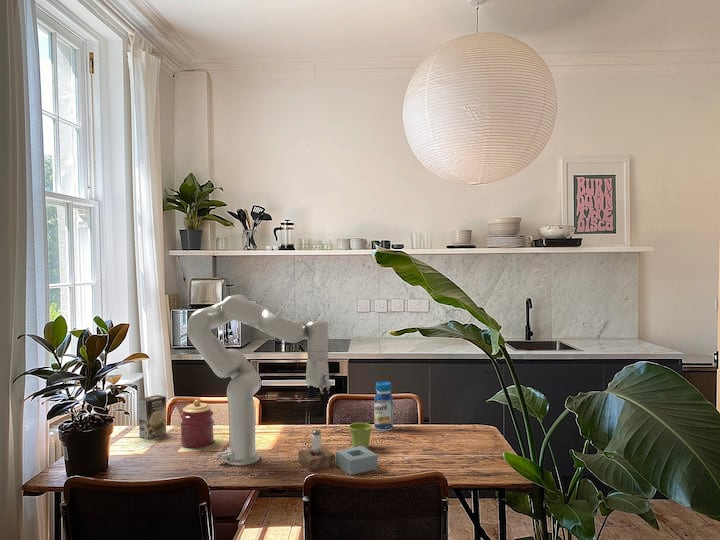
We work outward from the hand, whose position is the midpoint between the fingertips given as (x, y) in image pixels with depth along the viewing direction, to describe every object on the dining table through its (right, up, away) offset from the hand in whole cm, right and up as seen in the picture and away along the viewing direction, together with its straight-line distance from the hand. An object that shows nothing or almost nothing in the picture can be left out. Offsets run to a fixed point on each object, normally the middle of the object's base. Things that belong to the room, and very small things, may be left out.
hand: (318, 401), depth 199 cm
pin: (0, -23, -1) cm, 23 cm away
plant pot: (+16, -22, +15) cm, 31 cm away
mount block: (0, -23, -1) cm, 23 cm away
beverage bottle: (+26, -22, +39) cm, 52 cm away
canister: (-51, -23, +23) cm, 60 cm away
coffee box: (-73, -23, +33) cm, 84 cm away
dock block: (+14, -23, -4) cm, 27 cm away
